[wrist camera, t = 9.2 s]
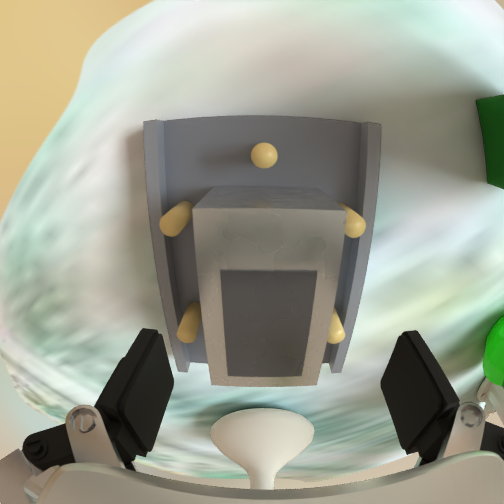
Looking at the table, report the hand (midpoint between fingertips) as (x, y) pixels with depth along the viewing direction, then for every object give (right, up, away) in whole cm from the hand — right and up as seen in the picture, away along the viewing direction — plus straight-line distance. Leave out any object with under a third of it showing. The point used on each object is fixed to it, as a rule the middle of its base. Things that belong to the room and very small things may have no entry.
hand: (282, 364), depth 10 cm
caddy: (0, +4, +8) cm, 9 cm away
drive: (0, +3, +8) cm, 8 cm away
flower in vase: (+1, -15, +16) cm, 22 cm away
